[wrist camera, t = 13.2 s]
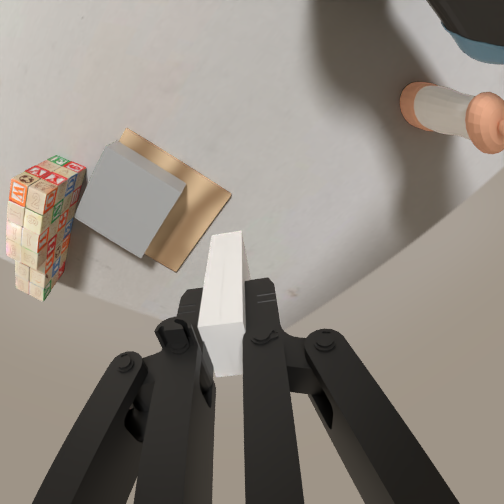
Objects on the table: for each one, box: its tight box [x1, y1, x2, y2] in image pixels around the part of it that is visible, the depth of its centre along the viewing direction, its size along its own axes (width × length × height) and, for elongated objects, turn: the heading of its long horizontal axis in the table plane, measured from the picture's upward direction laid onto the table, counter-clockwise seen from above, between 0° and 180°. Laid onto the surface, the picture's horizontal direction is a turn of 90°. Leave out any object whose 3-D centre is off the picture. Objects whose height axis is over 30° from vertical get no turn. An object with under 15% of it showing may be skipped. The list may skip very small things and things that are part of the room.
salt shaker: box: [400, 82, 504, 154], centre depth 30 cm, size 7×7×19 cm
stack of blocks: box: [6, 155, 86, 302], centre depth 40 cm, size 21×6×12 cm, turn 153°
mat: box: [119, 128, 231, 272], centre depth 45 cm, size 18×16×1 cm
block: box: [74, 140, 186, 258], centre depth 42 cm, size 4×12×12 cm
